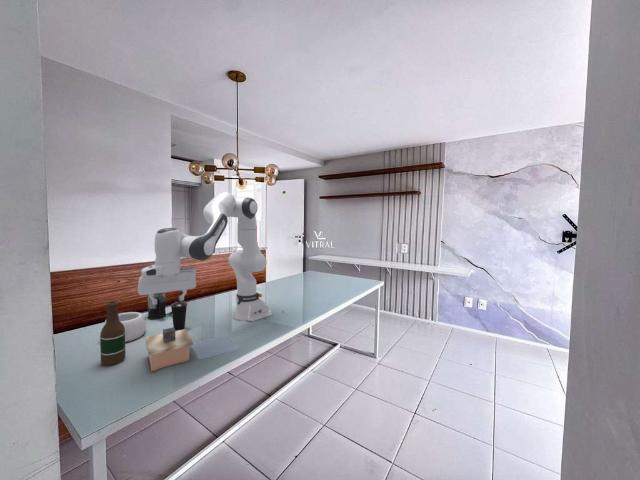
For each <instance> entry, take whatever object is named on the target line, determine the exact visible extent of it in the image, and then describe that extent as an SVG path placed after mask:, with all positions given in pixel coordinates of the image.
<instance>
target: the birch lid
mask: <svg viewBox="0 0 640 480" xmlns="http://www.w3.org/2000/svg"><path fill="white" fill-rule="evenodd" d="M145 343H146V344H145V345H146V349H147V354H148V357H149V355H154V354H158V353H162V352H166V351H170V350H174V349H178V348H183V347H187V346H189V347H190V346H191V345H193V343H194V340H192V337H191V336H190V334H189V331H188V330H187V328H185V329H183V330H178V331H175V329H174V327H169V328H168V327H167V328H163V329H162V333H159V334H154V335H150V336H145ZM191 347H192V346H191Z"/></svg>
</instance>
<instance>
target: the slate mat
mask: <svg viewBox="0 0 640 480" xmlns="http://www.w3.org/2000/svg"><path fill="white" fill-rule="evenodd" d="M191 348H192V350H193V352H194V354H195V356H196V359H197V360H198V361H200V360H204V359H208V358H211V357H212V358H213V357H214V356H218V355H221V354H225V353H229V352H233V351H236V350H240V347H239V346H238V345H237V344H236V343H235V341H233V339H232V338H231V337H230V336H229V335H228V334H224V335H223V334H222V335H220V336H216V337H211V338H208V339H203V340H200V341H199V340H198V341H193V345H191Z"/></svg>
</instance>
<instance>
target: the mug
mask: <svg viewBox="0 0 640 480" xmlns="http://www.w3.org/2000/svg"><path fill="white" fill-rule="evenodd" d="M118 316H119V321H120V322H121V323H122V324H123V325H124V327H125V343H128V342H132V341H134V340H137V339H139V338H141V337H142V336H143V335H144V334H145V333H146V329H147V324H146V319H145V317H144V315H143V313H142V312H137V311H136V312H135V311H128V312H120V313H118ZM105 324H106V320H104V323H103V326H102V328H103V327H104V326H105Z"/></svg>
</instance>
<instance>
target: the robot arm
mask: <svg viewBox="0 0 640 480" xmlns="http://www.w3.org/2000/svg"><path fill="white" fill-rule="evenodd" d="M202 211H203V212H202V213H203V217H204V219H205V220H206V222H207V223H208V224H209V225H210V226H209V228H208V230H207V231H206V233H205V234H202V235H195V236H194V235H188V234H186V233H183V232H182V231H180V230H179V229H178V228H176V227H165V228H159V230H157V231H156V233H155V235H154V253H155V259H154V264H152V265H150V266H149V265H148V266H146V267H143V268H142V269H141V271H140V272H141V275H140V276H139V278H138V285H137V294H138V295H139V296H146V295H147V296H148V294H149V297H150V298H151V300H152V303H153V305H155V304H157V299H154V298H153V297H152V296H154V294H155V293H163V292H165V293H169V292H171V293H172V292H177V291H178V292H180V291H181V292H182V294H180V296H179V300H180V301H181V302H183V301H185V296H186V295H187V292H188V290H194V289H195V288H196V287H197V281H196V279H197V278H196V276H197V269H196V268H195V267H193V266H186V267H185V266H184V267H183V266H182V267H181V258H183V259H185V258H186V259H193V260H198V261H202V262H203V261H207V260H209V259H210V258H211V257H212V256H213V254H214V253H215V249H216V246H217V244H218V243H219V241H220V238H221V236H222V234H223V233H224V231H225V229H226V228H227V226H228V222H229V220H228V218H229V217H230V218H237V223H236V224H237V228H236V229H237V232H236V233H237V235H236V237H237V244H238V245H240V247H241V249H242V251H239V250H238V251H234V252H232V253H230V254H229V257H228V260H227V261H228V265H229V266H230V267H231V268H232V270H233V272H234V275H235V277H236V288H237V289H236V295H235V296H236V297H235V303H236V307H235V312H234V315H233V318H234V319H235V320H237V321H247V322H255V321H259V320H260V319H264V318H268V317H272V316H273V312H272V311H271V310H270V309H269V306H268V305H269V304H267V303H266V302H265V301H264V300H263V299H262V297H263V294H262V293H259V292H257V279H256V278H255V277H254V275H253V274H252V272H253V273H257V272H258V273H259V272H263V271H264V270H265V269H266V267H267V263H268V262H267V258H266V256H265V255H263V253H262V251H261V249H260V247H259V243H258V230H257V229H258V226H257V225H258V223H257V217H256V214H257V212H258V203H257V202H256V200H255V199H254V198H252V197H249V196H248V197H243V196H236V197H235V196H234V195H233V194H232V193H230V192H229V191H222V192H220V193H218V194H217V195H216V196H214V197H213V198H212V199H210V201H209V202H208V203H207V204H206V205H205V207H204V208H203V210H202Z"/></svg>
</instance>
